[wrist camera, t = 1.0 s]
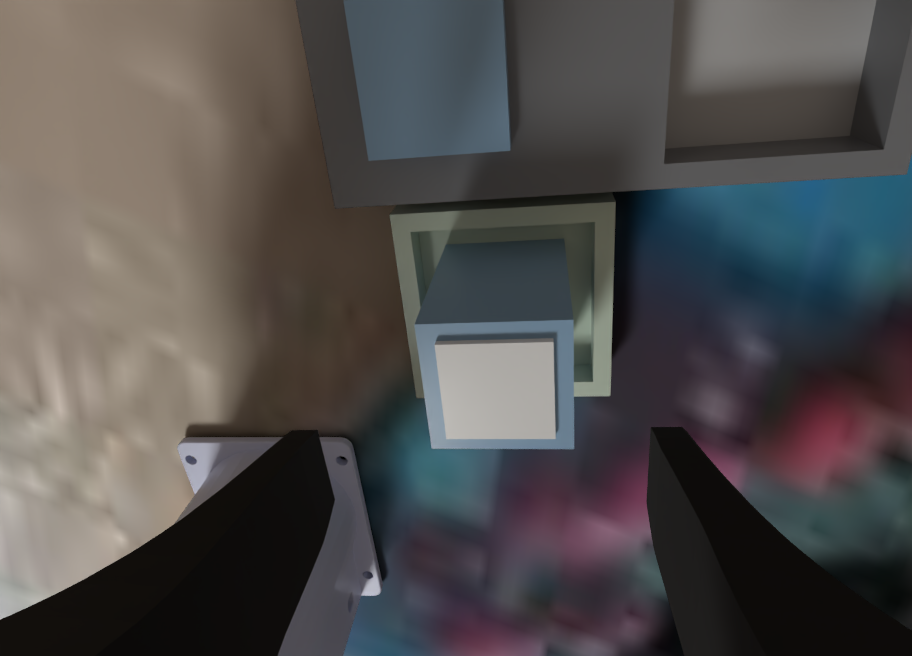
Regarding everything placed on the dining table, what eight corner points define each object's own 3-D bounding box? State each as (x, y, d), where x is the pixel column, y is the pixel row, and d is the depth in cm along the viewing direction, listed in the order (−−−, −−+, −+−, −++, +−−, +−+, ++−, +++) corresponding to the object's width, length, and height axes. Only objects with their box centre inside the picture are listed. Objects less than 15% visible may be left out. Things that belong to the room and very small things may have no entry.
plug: (565, 343, 22) (574, 453, 16) (456, 346, 22) (430, 453, 17) (563, 238, 20) (574, 323, 15) (445, 244, 21) (412, 328, 15)
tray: (605, 369, 23) (610, 396, 21) (424, 372, 24) (416, 398, 22) (609, 186, 20) (615, 201, 18) (400, 199, 21) (389, 214, 19)
